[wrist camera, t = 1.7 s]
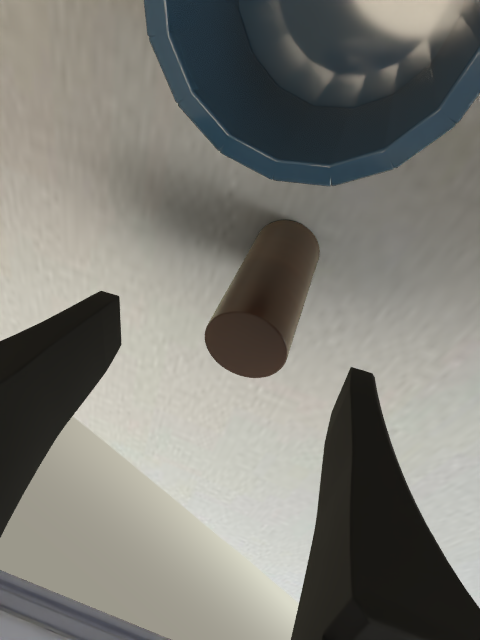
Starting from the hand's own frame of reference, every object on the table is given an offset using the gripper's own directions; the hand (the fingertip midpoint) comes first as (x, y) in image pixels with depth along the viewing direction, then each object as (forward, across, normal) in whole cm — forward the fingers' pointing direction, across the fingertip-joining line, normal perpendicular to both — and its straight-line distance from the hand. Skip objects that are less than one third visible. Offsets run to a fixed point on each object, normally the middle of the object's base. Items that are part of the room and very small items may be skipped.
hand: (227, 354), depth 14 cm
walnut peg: (+9, 0, +1) cm, 9 cm away
